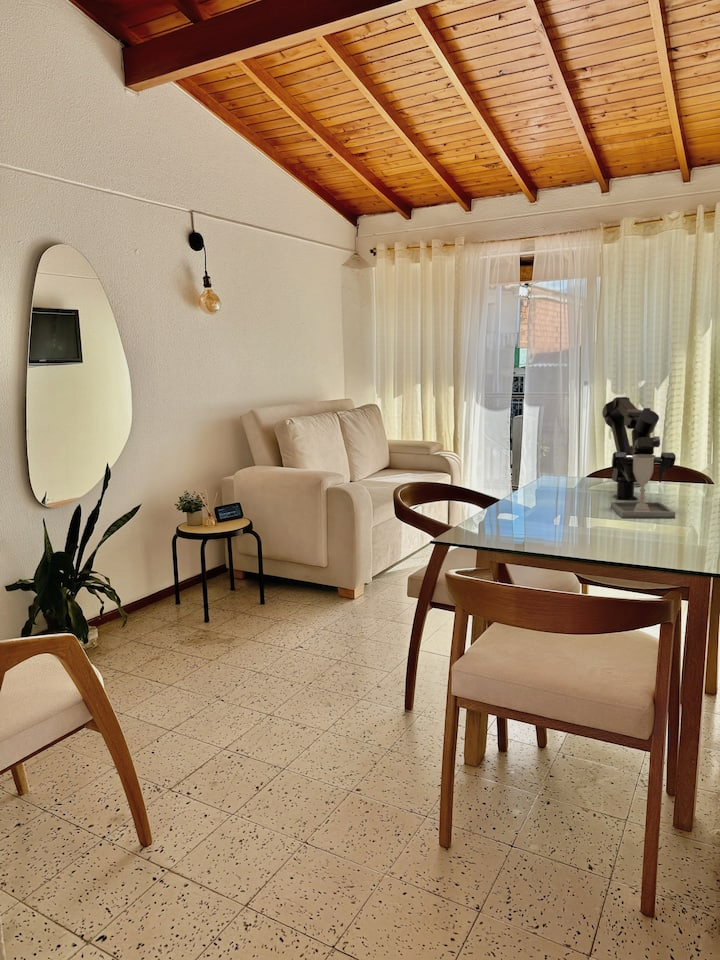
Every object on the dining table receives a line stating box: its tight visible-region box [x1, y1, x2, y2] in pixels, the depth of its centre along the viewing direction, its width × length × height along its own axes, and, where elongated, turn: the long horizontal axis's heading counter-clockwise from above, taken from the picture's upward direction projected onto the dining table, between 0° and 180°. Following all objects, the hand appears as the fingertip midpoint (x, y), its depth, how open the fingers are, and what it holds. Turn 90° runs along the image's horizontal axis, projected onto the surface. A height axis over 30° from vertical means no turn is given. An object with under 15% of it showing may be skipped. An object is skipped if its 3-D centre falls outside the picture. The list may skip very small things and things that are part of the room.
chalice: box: [632, 454, 657, 511], centre depth 218 cm, size 7×7×18 cm
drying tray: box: [609, 501, 676, 519], centre depth 221 cm, size 15×16×2 cm
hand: (644, 481), depth 217 cm, fingers open, 9 cm apart
